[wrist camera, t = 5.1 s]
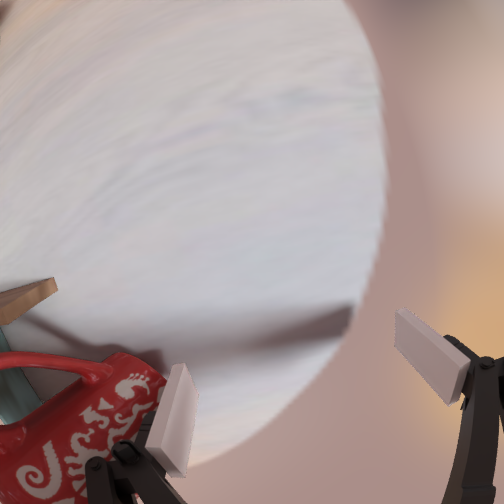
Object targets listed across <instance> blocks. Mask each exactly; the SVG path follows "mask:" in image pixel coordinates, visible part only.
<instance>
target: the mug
mask: <svg viewBox="0 0 504 504" xmlns="http://www.w3.org/2000/svg"><path fill="white" fill-rule="evenodd" d="M14 367H34V368H46V369H54V370H62V371H68V372H73V373H77V374H79V375H80V376H81V378H79V379H78V380H76V381H75V382H74V383H72V384H71V385H69V386H68V387H67V388H65V389H64V390H62V391H61V392H60V393H58V394H56V395H55V396H53V397H52V398H51V399H50V400H48V401H47V402H45V403H44V404H43V405H41V406H40V407H38V408H37V409H36V410H34V411H33V412H31V413H30V414H29V415H27V416H26V417H24V418H23V419H21V420H20V421H17V422H14V423H11V424H7V425H0V502H1V503H2V504H88V498H87V489H86V479H85V464H86V462H87V460H89V459H90V458H92V457H94V456H100V457H103V458H104V459H105V460H106V461H107V462H108V461H115V460H116V459H115V458H114V457H113V456H112V455H111V448H112V446H113V445H114V444H115V443H116V442H118V441H120V440H123V439H128V440H131V441H133V442H135V439H136V436H137V434H138V431H139V428H140V426H141V423H142V420H143V418H144V416H145V415H146V414H147V413H148V412H149V411H157V409H158V406H159V403H160V400H161V397H162V395H163V392H164V389H165V386H166V383H167V380H166V379H165V378H164V377H163V376H162V375H160V374H159V373H158V372H157V371H156V370H155V369H153V368H152V367H151V366H149V365H148V364H147V363H145V362H143V361H142V360H140V359H138V358H137V357H135V356H132V355H130V354H127V353H122V352H119V353H115V354H113V355H111V356H109V357H108V358H106V359H105V360H104V361H102V362H101V363H97V362H93V361H88V360H82V359H75V358H70V357H64V356H58V355H52V354H44V353H36V352H24V351H10V352H2V353H0V370H3V369H8V368H14ZM135 496H136V500H137V498H138V497H139V495H138V494H137V493H136V494H135Z"/></svg>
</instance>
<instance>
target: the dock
mask: <svg viewBox="0 0 504 504" xmlns="http://www.w3.org/2000/svg"><path fill="white" fill-rule="evenodd" d="M56 291H58V288H57V285H56V283H55V280H54V277H53V278H50V279H46V280H43V281H39V282H36V283H32V284H29V285H25V286H22V287H18V288H15V289H11V290H8V291H5V292H1V293H0V325H7V324H9V323H11V322H12V321H14V320H15V319H16V318H18V317H19V316H21V315H22V314H23V313H25V312H26V311H28V310H29V309H31V308H32V307H34V306H35V305H37V304H38V303H40V302H41V301H43V300H44V299H46V298H47V297H49V296H50V295H52V294H53V293H55V292H56ZM10 351H11V350H10V348H9V346H8V343H7V341H6V339H5V337H4V335H3V333H2V331H1V328H0V353H2V352H10ZM41 405H43V404H42V402H41V401H40V399H39V398H38V396H37V395H36V393H35V392H34V390H33V389H32V387H31V385H30V384H29V382H28V380H27V379H26V377H25V375H24V374H23V372H22V370H21V368H20V367H14V368H8V369H3V370H0V419H1V420H2V422H3V423H4V424H5V425H7V424H11V423H14V422H17V421H20V420H21V419H23V418H24V417H26V416H27V415H29V414H30V413H31V412H33V411H34V410H36V409H37V408H38V407H40V406H41Z"/></svg>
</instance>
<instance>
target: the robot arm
mask: <svg viewBox="0 0 504 504" xmlns="http://www.w3.org/2000/svg"><path fill="white" fill-rule="evenodd" d="M395 347H396V348H397V350H398V351H399V352H400V353H401V354H402V355H403V356H404V357H405V358H406V359H407V360H408V362H409V363H410V364H411V365H412V366H413V367H414V368H415V369H416V371H417V372H419V374H420V375H421V376H422V377H423V378H424V380H425V381H426V382H427V383H428V384H429V385H430V386H431V388H432V389H433V390H434V391H435V392H436V393H437V394H438V396H439V397H440V398H441V399H442V400H443V401H444V403H445V404H446V405H447V406H450V405H452V404H453V403H455V402H457V401H458V400H459V398H460V395H461V392H462V393H463V394H464V395H465V398H464V401H463V403H462V406H461V409H460V410H462V409H463V413H462V420H461V427H460V433H459V439H458V444H457V449H456V454H455V459H454V463H453V467H452V471H451V475H450V478H449V482H448V485H447V488H446V491H445V494H444V497H443V500H442V503H441V504H493V503H494V498H495V493H496V487H495V486H493V484H492V483H493V477H494V471H495V465H496V457H497V448H498V435H499V415H500V418H501V422H502V426H503V432H504V357H502V358H499V359H496V360H494V359H493V358H491V357H487V356H484V357H481V358H480V357H479V356H477V355H476V354H475V353H474V352H473V351H471V350H470V349H469V348H468V347H466V346H465V345H464V344H463V343H460V341H459V340H458V339H456V338H455V337H453V336H450V335H445V336H443V337H442V336H441V335H440V334H439V333H437V332H436V331H435V330H434V329H432V328H431V327H430V326H429V325H427V324H426V323H425V322H423V321H422V320H421V319H420V318H418V317H417V316H416V315H415V314H413V313H412V312H411V311H409V310H408V309H407V308H405V307H404V308H402V309H399V310H396V311H395ZM198 400H199V393H198V391H197V389H196V387H195V385H194V383H193V380H192V378H191V376H190V374H189V371H188V369H187V367H186V364H185V363H180V364H173V366H172V369H171V372H170V375H169V378H168V380H167V383H166V386H165V389H164V392H163V395H162V397H161V400H160V403H159V406H158V409H157V411H149V412H148V413H147V414H146V415H145V416H144V418H143V420H142V423H141V426H140V428H139V431H138V434H137V436H136V439H135V442H133V441H131V440H128V439H123V440H120V441H118V442H116V443H115V444H114V445H113V446H112V448H111V455H112V456H113V457H114V458H115V459H116V460H115V461H108V462H107V461H106V460H105V459H104V458H103V457H100V456H94V457H92V458H90V459H89V460H87V462H86V464H85V479H86V489H87V498H88V504H138V503H137V500H136V496H135V494H136V493H137V494H138V495H139V497H140V498H141V500H142V501H143V503H144V504H187V503H186V502H185V501H184V500H183V499H182V497H181V496H180V495H179V494H178V493H177V492H176V490H175V489H174V488H173V487H172V486H171V485H170V483H169V482H168V481H167V480H166V479H165V475H166V472H167V473H168V475H169V476H170V477H177V478H185V477H186V471H187V465H188V459H189V453H190V447H191V441H192V435H193V429H194V423H195V417H196V412H197V406H198Z"/></svg>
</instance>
